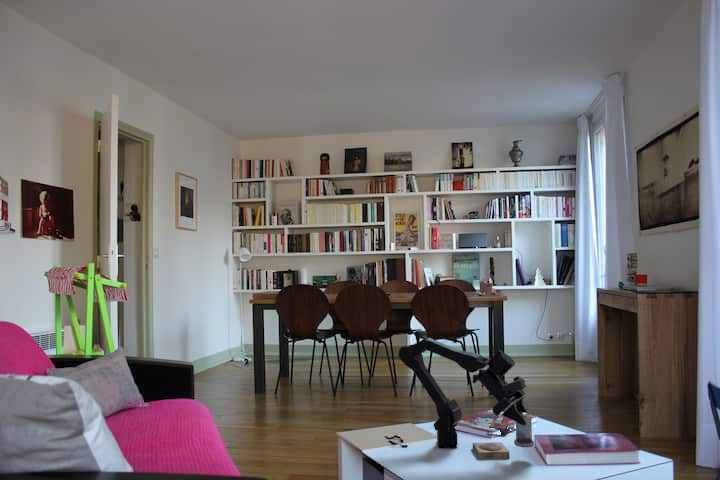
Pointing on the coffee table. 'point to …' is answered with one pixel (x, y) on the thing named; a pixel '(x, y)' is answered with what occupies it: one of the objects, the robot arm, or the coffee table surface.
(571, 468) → the coffee table surface
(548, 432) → the coffee table surface
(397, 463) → the coffee table surface
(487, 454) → the stand
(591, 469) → the coffee table surface
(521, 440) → the cylinder
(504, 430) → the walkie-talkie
